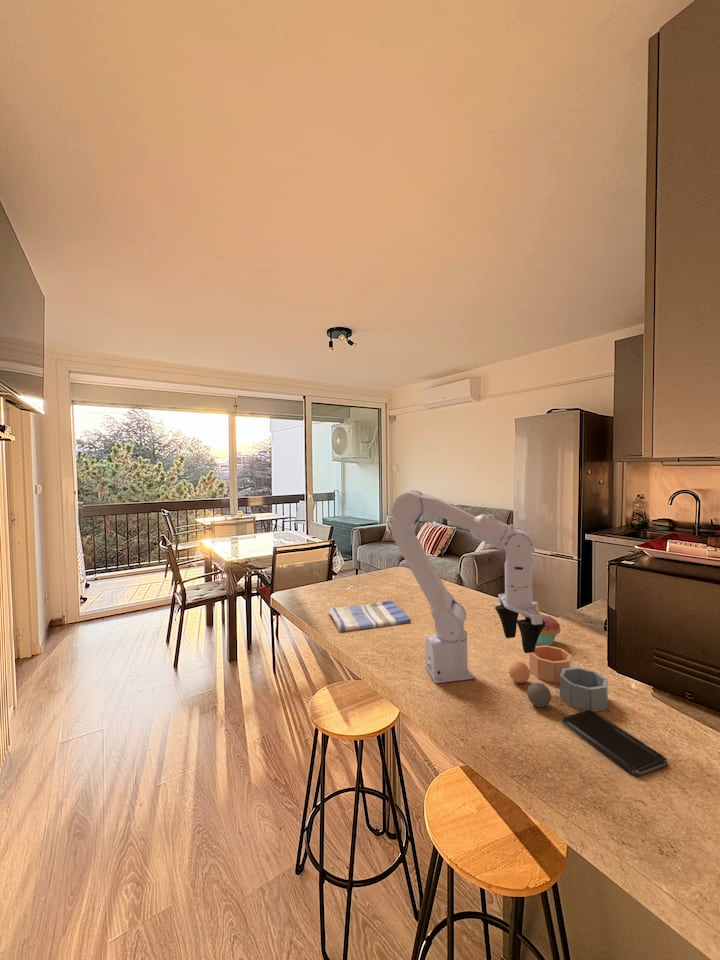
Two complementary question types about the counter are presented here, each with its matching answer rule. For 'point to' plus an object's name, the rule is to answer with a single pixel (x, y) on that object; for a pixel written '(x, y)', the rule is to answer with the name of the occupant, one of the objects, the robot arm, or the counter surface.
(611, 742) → the phone
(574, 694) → the slate cup
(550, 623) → the cupcake
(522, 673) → the terracotta ball
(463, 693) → the counter surface
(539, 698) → the charcoal ball
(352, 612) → the dish towel
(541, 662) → the terracotta octagonal bowl
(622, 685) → the counter surface
